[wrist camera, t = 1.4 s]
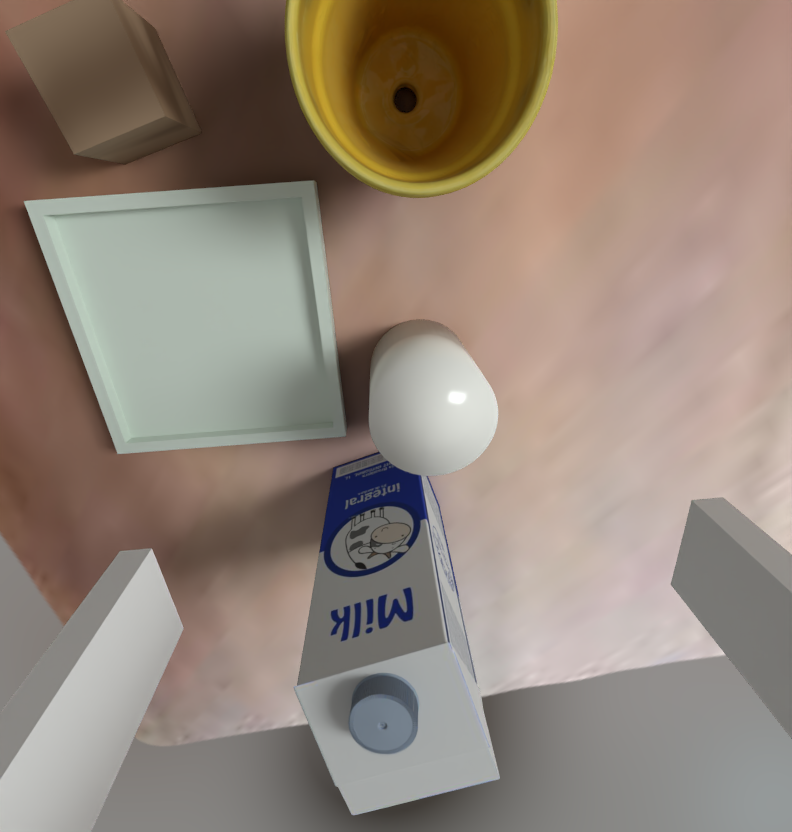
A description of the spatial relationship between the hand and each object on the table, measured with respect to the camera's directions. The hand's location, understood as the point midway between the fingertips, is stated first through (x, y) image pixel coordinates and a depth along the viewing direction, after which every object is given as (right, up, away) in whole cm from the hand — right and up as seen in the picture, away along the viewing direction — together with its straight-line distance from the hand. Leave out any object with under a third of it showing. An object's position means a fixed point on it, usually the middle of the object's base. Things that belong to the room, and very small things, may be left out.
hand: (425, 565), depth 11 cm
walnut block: (-15, +22, +14) cm, 30 cm away
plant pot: (0, +22, +15) cm, 26 cm away
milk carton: (-1, -2, +25) cm, 26 cm away
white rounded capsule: (+1, +7, +21) cm, 22 cm away
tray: (-13, +10, +19) cm, 25 cm away
